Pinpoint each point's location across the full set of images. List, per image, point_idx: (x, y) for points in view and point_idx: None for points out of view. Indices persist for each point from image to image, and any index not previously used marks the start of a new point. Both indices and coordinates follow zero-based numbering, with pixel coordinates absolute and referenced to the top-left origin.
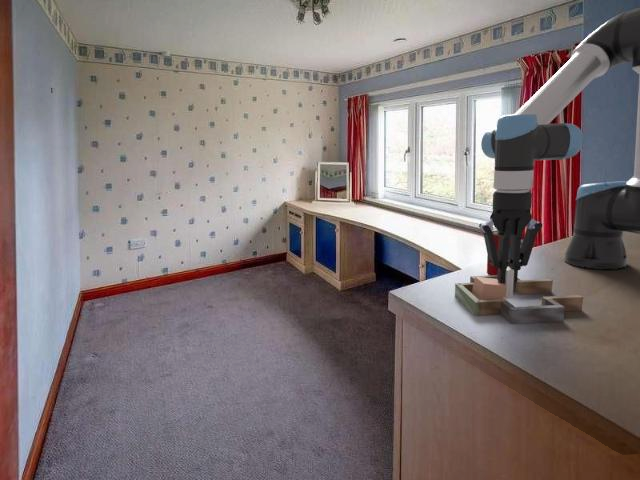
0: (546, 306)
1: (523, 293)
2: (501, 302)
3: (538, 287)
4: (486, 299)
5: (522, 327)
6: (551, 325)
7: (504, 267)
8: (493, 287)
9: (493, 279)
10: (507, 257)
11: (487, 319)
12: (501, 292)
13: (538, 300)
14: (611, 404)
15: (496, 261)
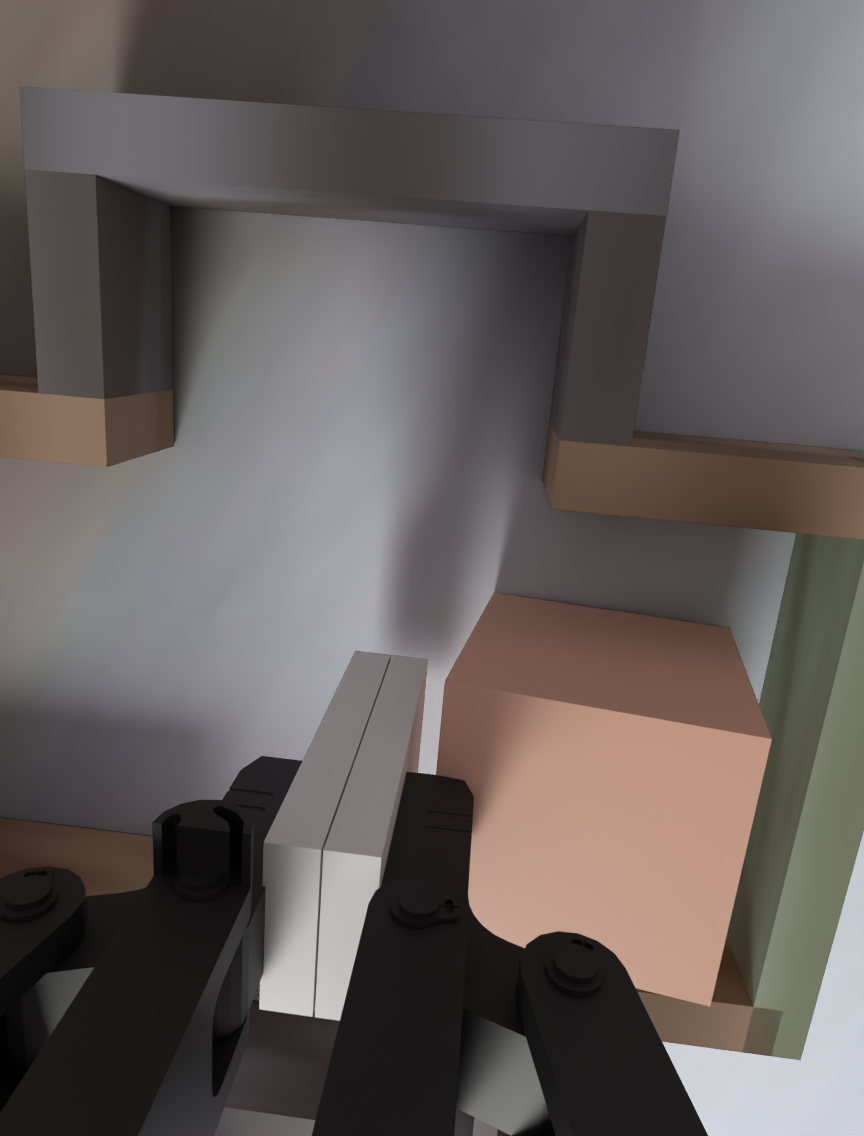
0: (215, 152)
1: (128, 837)
2: (629, 439)
3: None
4: (671, 642)
5: (586, 63)
6: (274, 58)
7: (427, 899)
8: (617, 695)
9: (482, 910)
10: (339, 1066)
11: (808, 340)
12: (505, 654)
13: (77, 670)
14: None
15: (587, 1028)
